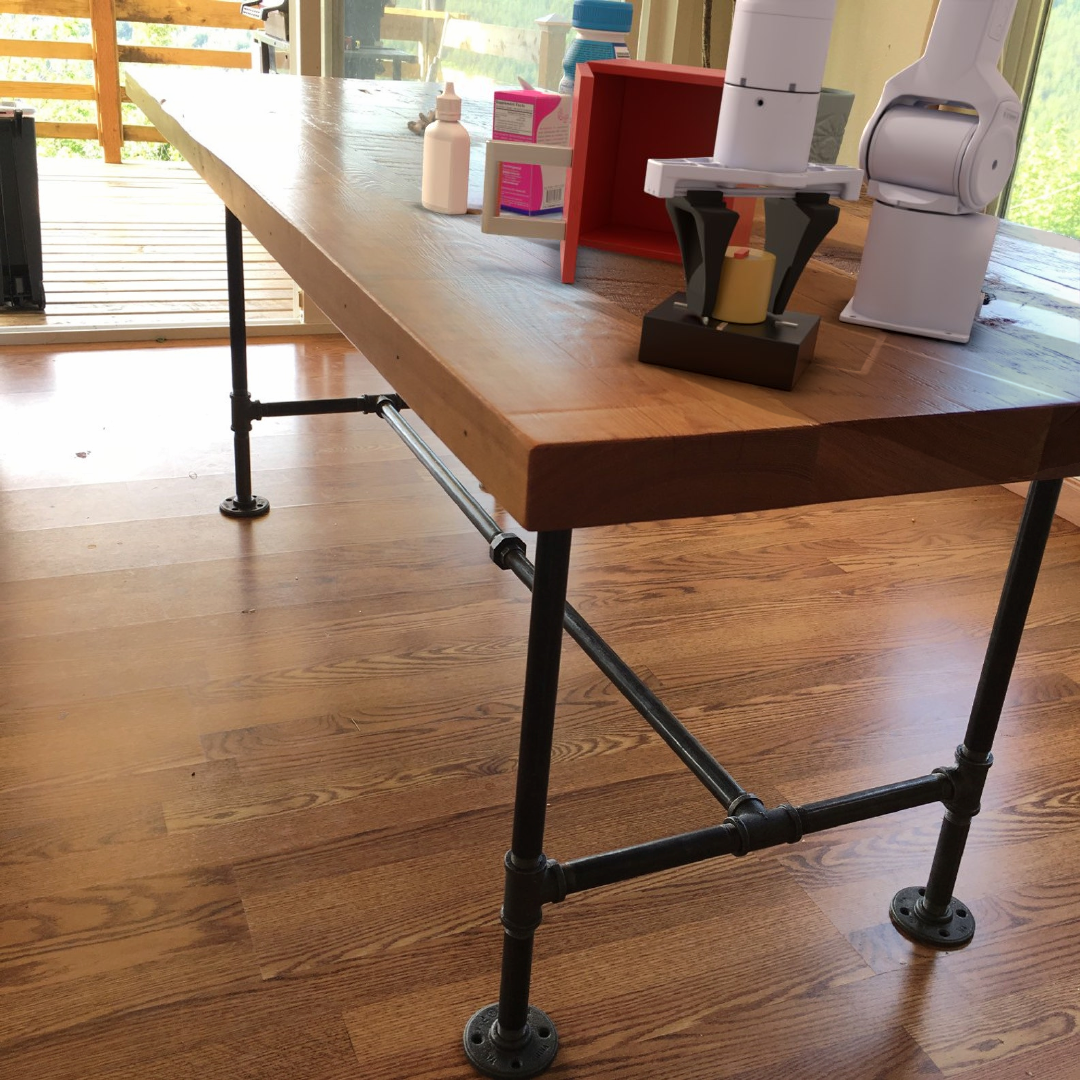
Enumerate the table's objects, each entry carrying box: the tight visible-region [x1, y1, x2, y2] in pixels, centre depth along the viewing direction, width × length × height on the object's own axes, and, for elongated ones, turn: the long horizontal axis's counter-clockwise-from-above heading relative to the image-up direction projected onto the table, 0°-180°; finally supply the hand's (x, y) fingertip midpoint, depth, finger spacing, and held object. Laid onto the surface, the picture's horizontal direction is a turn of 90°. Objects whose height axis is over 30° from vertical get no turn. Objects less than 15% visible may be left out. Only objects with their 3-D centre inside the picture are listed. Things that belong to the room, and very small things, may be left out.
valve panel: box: [637, 290, 822, 392], centre depth 74 cm, size 10×8×3 cm
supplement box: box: [491, 89, 571, 217], centre depth 114 cm, size 6×6×12 cm
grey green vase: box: [808, 86, 856, 165], centre depth 147 cm, size 10×10×12 cm
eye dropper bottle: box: [421, 81, 471, 216], centre depth 110 cm, size 4×6×12 cm
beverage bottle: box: [558, 0, 634, 171], centre depth 130 cm, size 8×8×20 cm
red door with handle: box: [480, 63, 594, 285], centre depth 92 cm, size 8×15×15 cm, turn 0°
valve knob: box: [711, 246, 776, 323], centre depth 72 cm, size 4×4×4 cm
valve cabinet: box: [578, 58, 760, 264], centre depth 101 cm, size 10×15×16 cm
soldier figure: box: [406, 89, 444, 136], centre depth 166 cm, size 8×5×12 cm
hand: (735, 311), depth 73 cm, fingers open, 5 cm apart
